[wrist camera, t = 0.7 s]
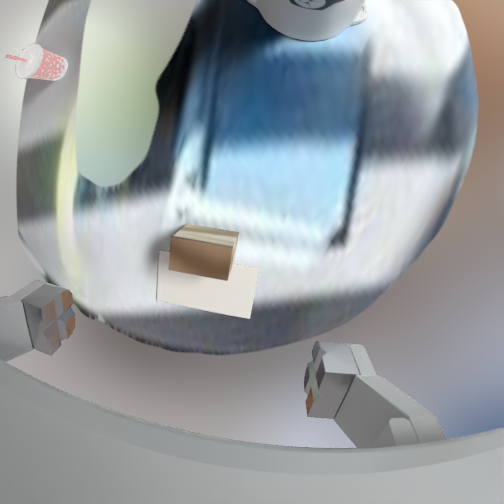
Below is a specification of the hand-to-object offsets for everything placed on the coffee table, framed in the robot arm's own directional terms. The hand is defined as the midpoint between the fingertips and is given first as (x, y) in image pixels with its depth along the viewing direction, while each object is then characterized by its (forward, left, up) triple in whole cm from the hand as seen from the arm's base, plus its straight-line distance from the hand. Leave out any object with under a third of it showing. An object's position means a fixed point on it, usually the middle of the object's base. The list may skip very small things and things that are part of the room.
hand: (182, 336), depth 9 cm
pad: (+16, -5, -37) cm, 40 cm away
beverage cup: (-18, -38, -37) cm, 56 cm away
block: (+9, -5, -37) cm, 38 cm away
